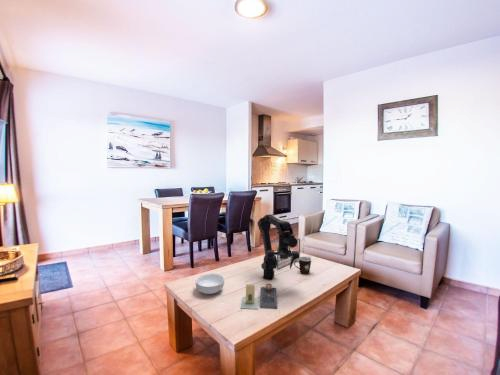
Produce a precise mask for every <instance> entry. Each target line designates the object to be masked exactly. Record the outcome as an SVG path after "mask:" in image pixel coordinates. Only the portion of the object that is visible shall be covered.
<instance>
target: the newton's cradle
mask: <svg viewBox="0 0 500 375" xmlns="http://www.w3.org/2000/svg"><path fill="white" fill-rule="evenodd" d="M295 238H296V237H295ZM296 239H297V241H298V249H297V251H298V252H299V257H301V239H300V238H296ZM277 243H279V238H278V239H276V240H271V245H273V246H276V252H278V247H279V244H277ZM288 250H291V247H290V246H288ZM289 258H290V259H291V256H290V257H288V259H289ZM276 260H277V266H276V269H277V270H281V269H282V268H285V267H287V266H288V265H289V266H290V262H288V263H286V264H284V265H282V266H279V263H280V262H283V261H285V260H286V259H280V256H279V255H276ZM295 261H299V258H297V260H294V262H295ZM294 262H293V263H294Z"/></svg>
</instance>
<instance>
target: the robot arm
mask: <svg viewBox="0 0 500 375" xmlns="http://www.w3.org/2000/svg"><path fill="white" fill-rule="evenodd" d="M271 225H273V226H275V227H276V230H277V235H278V239H279V242H278V245H279V247H278V246H277V248H278V252H277V251H275V249H273V248H272V244H271V242H272V240H271V236H270V235H271V234H270V230H271ZM257 226H258V230H259V232H261V235H262V236H261V237H262V242H263V248H264V249H263V250H264V253H265V254H264V257H263V262H262V263H261V265H260V266H261V269H262V270H263V276H262V279H266V280H273V279H274V278H275V270H276V269H277V268H276V267H277V260H276V258H277V255H279V257H280V259H285V260H288V259H289V258H290V256H291V258H290V262H289V263H290V264H289V269H292V266H293V265H294V260H297V259H298V258H299V252H298V250H292V248H295V247H297V245H298V240H297V239H298V238H297V239H296V236H295V235H294V230H293V228H292V225H291V223H290V221H286V220H282V219H281V220H280V218H277V217H276V216H275V215H273V214H265V215H264V216H263V217H261V218H260V219H259V220H258V221H257ZM288 246H290V248H291V249H290V250H289V248H288ZM288 257H289V258H288ZM297 261H298V260H297Z"/></svg>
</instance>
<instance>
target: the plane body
mask: <svg viewBox="0 0 500 375" xmlns="http://www.w3.org/2000/svg"><path fill="white" fill-rule="evenodd" d="M277 296H278V294H277V287H273V285H272V284H271V283H269V282H268V283H265V286H261V287H260V296H259V308H261V309H262V308H263V309H278V297H277Z"/></svg>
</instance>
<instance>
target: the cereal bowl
mask: <svg viewBox="0 0 500 375" xmlns="http://www.w3.org/2000/svg"><path fill="white" fill-rule="evenodd" d="M224 285H225V278H224V276H223V275H221V274H219V273H205V274H201V275H199V276H198V277H197V278H196V279H195V287H196V289H197V291H199V292H200V293H202V294H205V295H212V294H216V293H218V292H220V291H221V290H222V289H223V288H224Z"/></svg>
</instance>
